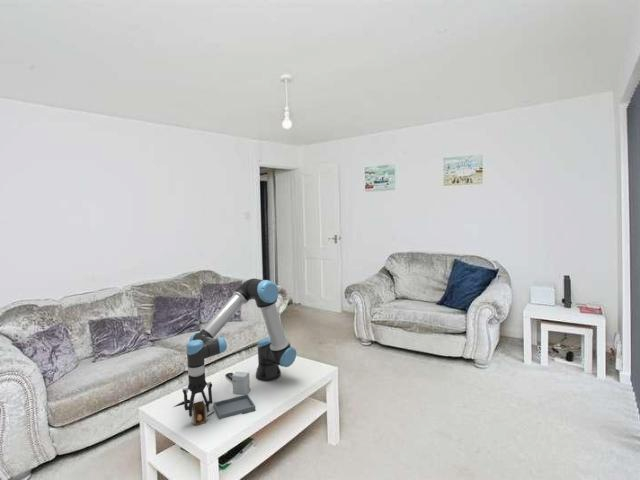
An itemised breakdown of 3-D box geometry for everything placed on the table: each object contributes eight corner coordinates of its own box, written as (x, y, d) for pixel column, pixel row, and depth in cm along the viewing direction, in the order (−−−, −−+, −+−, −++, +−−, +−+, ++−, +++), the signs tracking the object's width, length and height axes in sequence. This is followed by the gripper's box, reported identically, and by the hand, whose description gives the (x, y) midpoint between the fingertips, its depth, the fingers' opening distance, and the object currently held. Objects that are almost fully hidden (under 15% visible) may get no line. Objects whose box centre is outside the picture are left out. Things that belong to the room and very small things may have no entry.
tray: (247, 398, 197) (247, 394, 196) (255, 410, 184) (255, 405, 184) (213, 407, 188) (213, 402, 188) (219, 420, 176) (219, 415, 176)
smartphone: (196, 403, 194) (196, 402, 193) (169, 419, 179) (169, 417, 179) (187, 400, 197) (187, 398, 197) (160, 415, 183) (160, 413, 183)
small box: (250, 390, 206) (249, 372, 205) (245, 395, 200) (244, 376, 200) (237, 389, 208) (236, 371, 207) (232, 393, 202) (231, 375, 202)
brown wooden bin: (204, 416, 179) (203, 400, 178) (206, 422, 173) (205, 406, 173) (192, 419, 176) (191, 403, 176) (194, 425, 171) (193, 409, 170)
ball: (201, 413, 176) (201, 412, 174) (202, 420, 175) (203, 419, 173) (195, 415, 175) (195, 415, 173) (196, 422, 174) (196, 421, 171)
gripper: (214, 366, 180) (217, 411, 182) (175, 374, 172) (178, 422, 174) (217, 372, 174) (220, 418, 175) (176, 381, 165) (180, 430, 167)
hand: (199, 420), depth 175 cm, fingers closed on brown wooden bin, 5 cm apart
